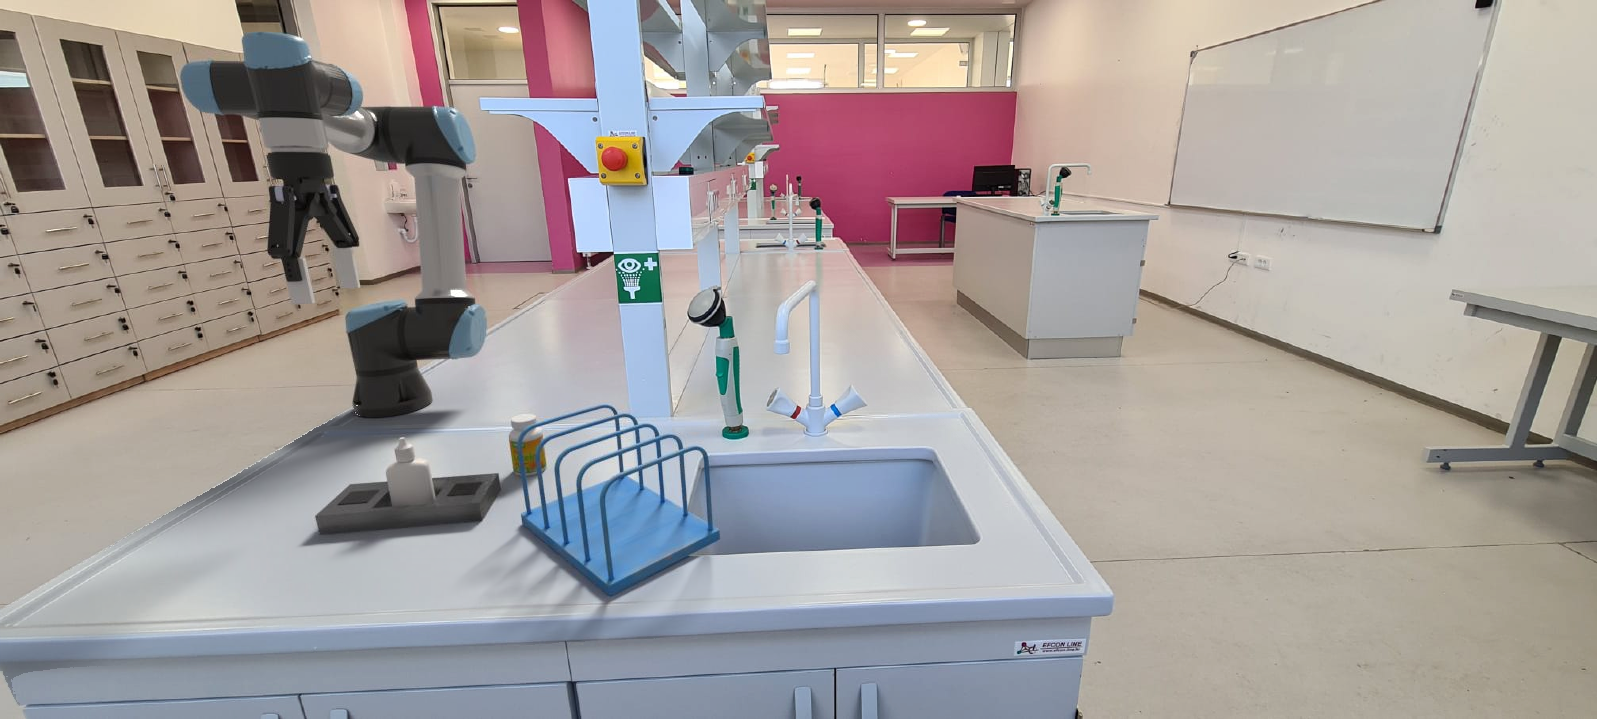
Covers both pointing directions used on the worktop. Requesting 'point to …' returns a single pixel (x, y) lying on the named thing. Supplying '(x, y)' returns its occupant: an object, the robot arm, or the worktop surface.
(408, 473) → the eye dropper bottle
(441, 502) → the grey compartment tray
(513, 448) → the supplement bottle
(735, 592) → the worktop surface
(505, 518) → the worktop surface
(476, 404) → the worktop surface
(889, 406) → the worktop surface
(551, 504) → the file sorter
